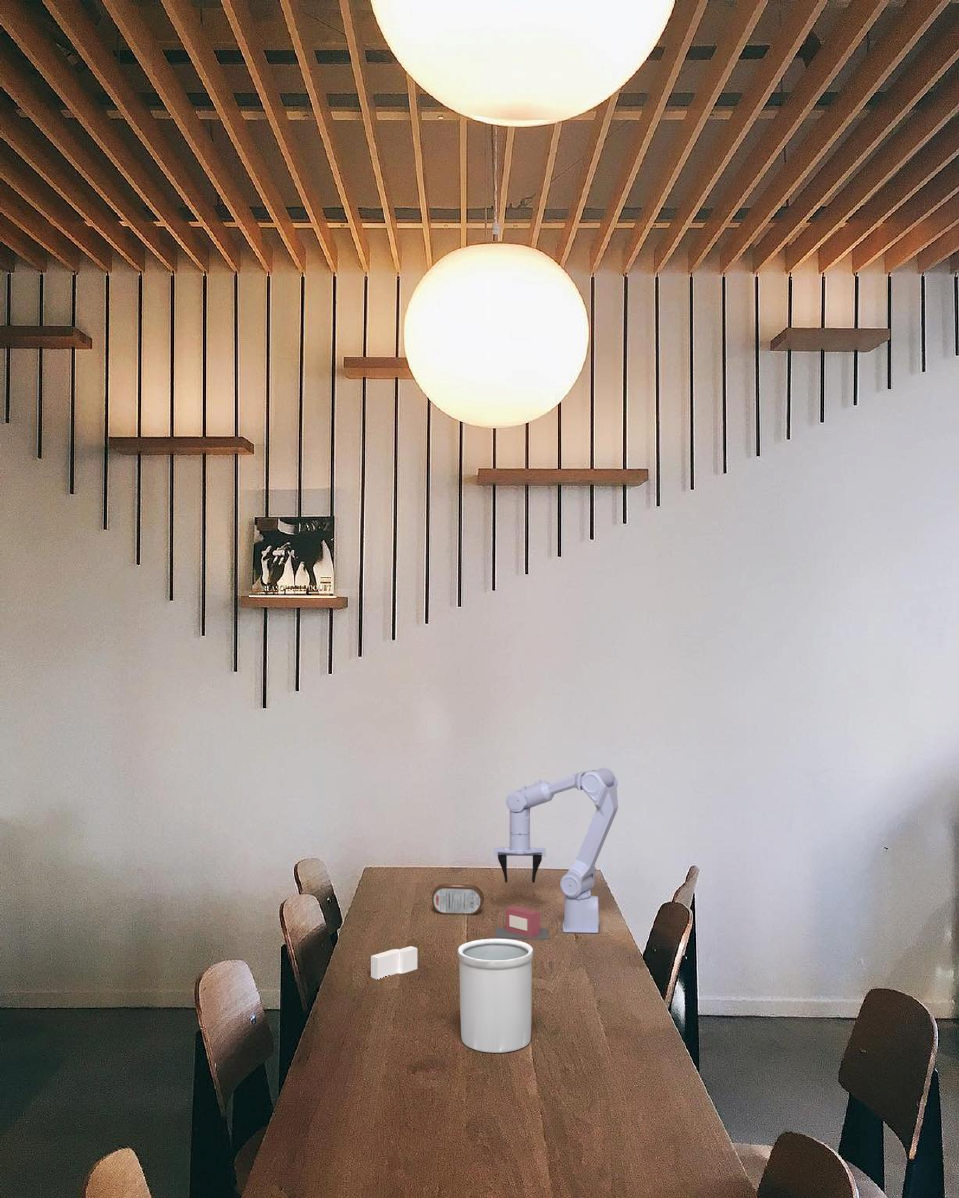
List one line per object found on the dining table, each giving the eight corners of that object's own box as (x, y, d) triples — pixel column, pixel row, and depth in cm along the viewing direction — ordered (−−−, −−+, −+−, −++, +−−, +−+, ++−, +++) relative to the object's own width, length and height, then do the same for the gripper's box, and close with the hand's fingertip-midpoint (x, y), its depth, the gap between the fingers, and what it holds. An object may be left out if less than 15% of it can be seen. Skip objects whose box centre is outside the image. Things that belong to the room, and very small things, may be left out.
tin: (484, 913, 280) (484, 883, 280) (483, 916, 277) (483, 886, 277) (432, 911, 281) (432, 882, 282) (430, 914, 278) (430, 884, 279)
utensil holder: (446, 1030, 195) (446, 942, 196) (513, 1019, 201) (513, 933, 202) (475, 1060, 181) (475, 964, 182) (546, 1047, 187) (546, 954, 188)
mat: (548, 930, 263) (548, 928, 263) (547, 939, 255) (547, 937, 255) (496, 928, 264) (496, 927, 264) (494, 937, 256) (494, 936, 256)
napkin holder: (365, 984, 222) (365, 959, 223) (364, 968, 234) (364, 944, 234) (430, 981, 224) (431, 956, 225) (426, 965, 236) (426, 941, 236)
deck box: (514, 927, 264) (514, 905, 264) (540, 934, 258) (540, 911, 258) (505, 930, 261) (505, 908, 261) (531, 937, 255) (531, 914, 255)
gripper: (494, 835, 271) (494, 884, 270) (546, 835, 271) (546, 885, 270) (494, 830, 278) (494, 878, 277) (544, 831, 278) (544, 879, 277)
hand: (519, 881), depth 274 cm, fingers open, 7 cm apart
